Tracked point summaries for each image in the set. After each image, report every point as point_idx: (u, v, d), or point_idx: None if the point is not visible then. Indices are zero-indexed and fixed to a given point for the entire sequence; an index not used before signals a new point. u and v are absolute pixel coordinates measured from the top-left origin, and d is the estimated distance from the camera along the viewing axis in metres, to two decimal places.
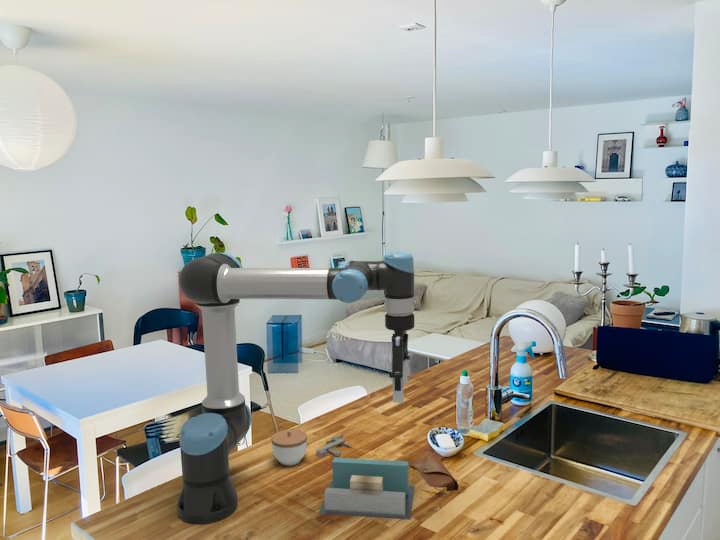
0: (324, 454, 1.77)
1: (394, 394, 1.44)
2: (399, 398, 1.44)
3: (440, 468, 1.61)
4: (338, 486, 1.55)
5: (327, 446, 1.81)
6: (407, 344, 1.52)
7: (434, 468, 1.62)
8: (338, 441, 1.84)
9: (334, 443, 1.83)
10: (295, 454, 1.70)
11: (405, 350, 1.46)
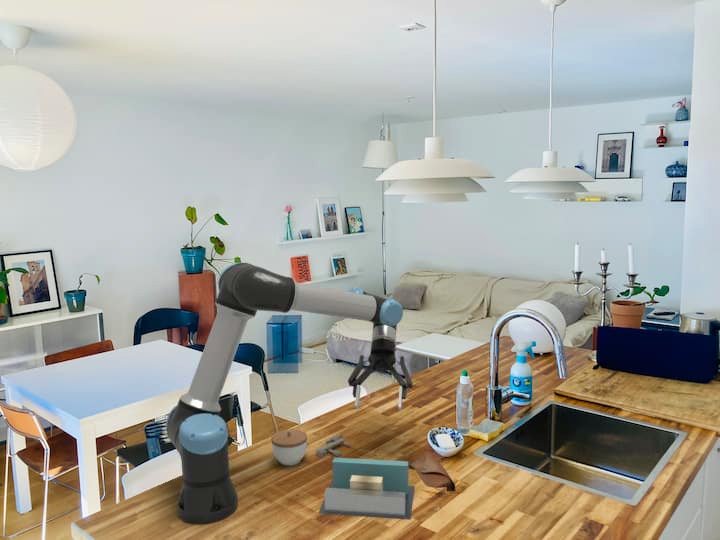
0: (324, 454, 1.77)
1: (401, 401, 1.68)
2: (401, 406, 1.68)
3: (437, 468, 1.61)
4: (338, 486, 1.55)
5: (327, 446, 1.81)
6: (373, 371, 1.78)
7: (432, 468, 1.62)
8: (338, 441, 1.84)
9: (334, 443, 1.83)
10: (295, 454, 1.70)
11: None
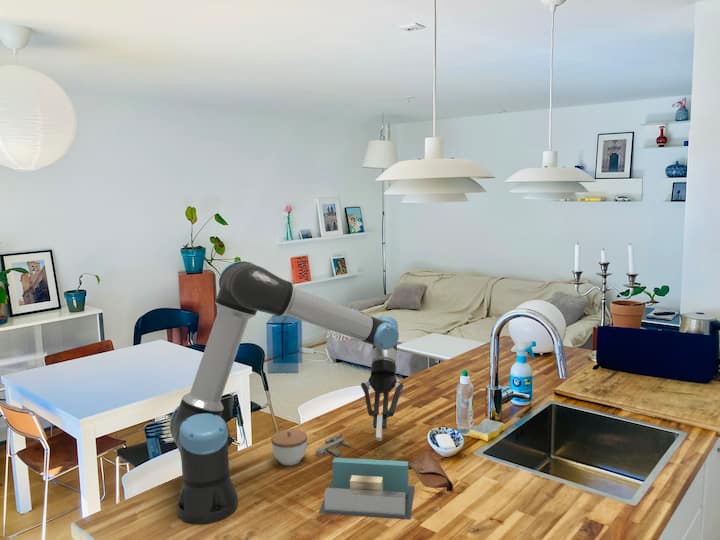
0: (324, 454, 1.77)
1: (381, 430, 1.64)
2: (381, 435, 1.65)
3: (435, 468, 1.61)
4: (338, 486, 1.55)
5: (327, 446, 1.81)
6: None
7: (430, 468, 1.62)
8: (337, 441, 1.84)
9: (333, 443, 1.83)
10: (295, 454, 1.70)
11: (387, 396, 1.73)
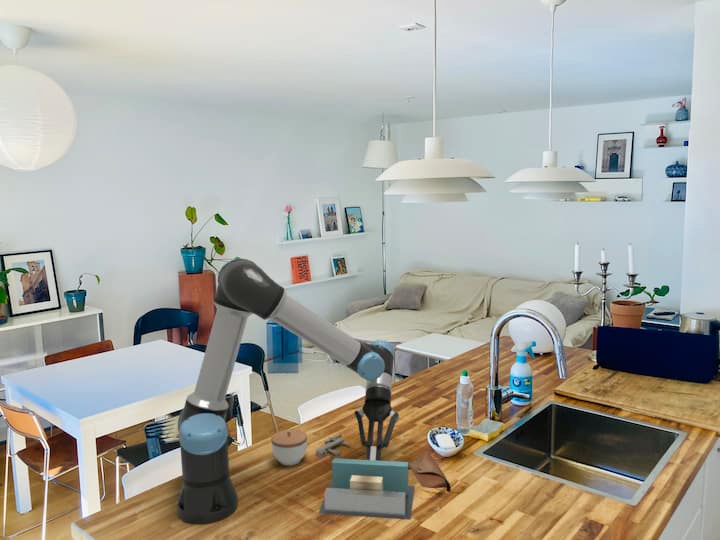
0: (324, 454, 1.78)
1: None
2: None
3: (433, 468, 1.61)
4: (338, 487, 1.54)
5: (326, 446, 1.81)
6: None
7: (428, 468, 1.62)
8: (337, 441, 1.84)
9: (333, 443, 1.83)
10: (295, 454, 1.70)
11: None
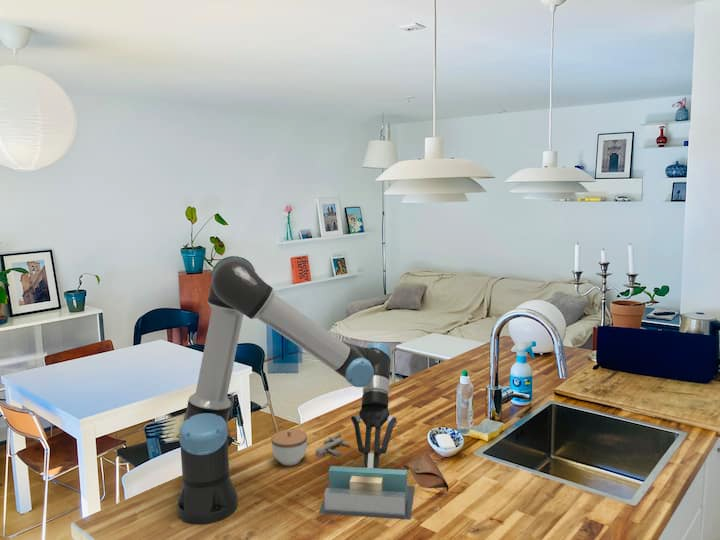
0: (324, 454, 1.78)
1: None
2: None
3: (431, 469, 1.61)
4: None
5: (326, 446, 1.81)
6: (371, 428, 1.61)
7: (426, 468, 1.62)
8: (336, 441, 1.84)
9: (333, 443, 1.83)
10: (295, 454, 1.70)
11: (379, 430, 1.61)
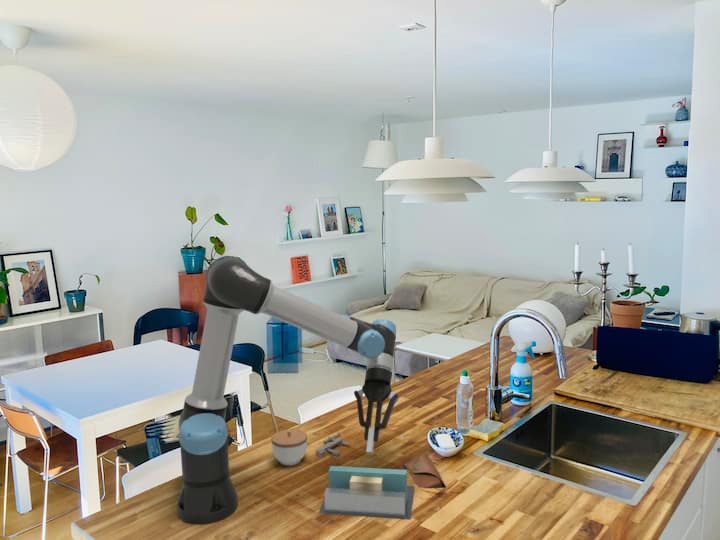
0: (324, 454, 1.78)
1: (372, 444, 1.58)
2: (372, 449, 1.58)
3: (429, 469, 1.61)
4: None
5: (326, 446, 1.81)
6: (373, 403, 1.66)
7: (424, 468, 1.62)
8: (336, 440, 1.84)
9: (332, 443, 1.83)
10: (295, 454, 1.70)
11: None
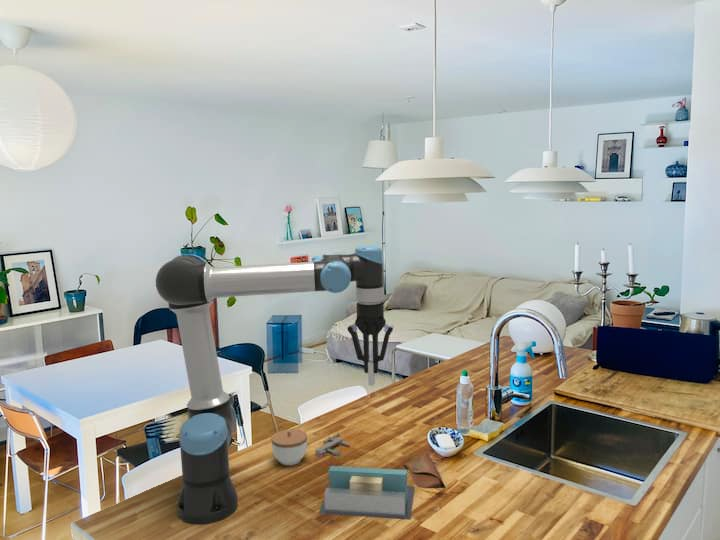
0: (324, 454, 1.78)
1: (373, 378, 1.62)
2: (374, 379, 1.64)
3: (429, 469, 1.61)
4: None
5: (326, 446, 1.81)
6: None
7: (424, 468, 1.62)
8: (336, 440, 1.84)
9: (332, 443, 1.83)
10: (295, 454, 1.70)
11: None
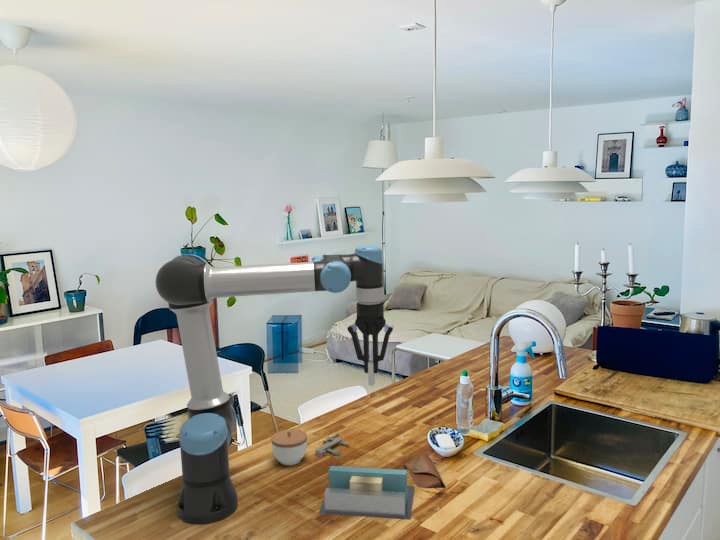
0: (324, 454, 1.78)
1: (373, 377, 1.62)
2: (374, 379, 1.64)
3: (429, 469, 1.61)
4: None
5: (325, 446, 1.81)
6: None
7: (424, 468, 1.62)
8: (335, 440, 1.85)
9: (332, 443, 1.83)
10: (295, 454, 1.70)
11: None
